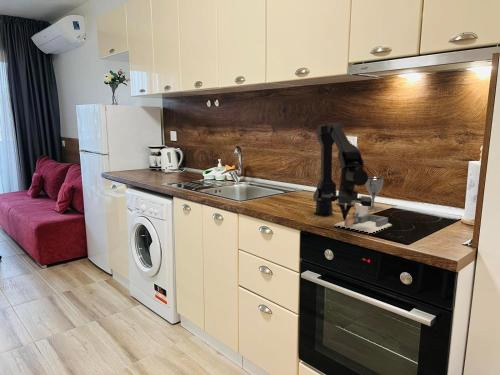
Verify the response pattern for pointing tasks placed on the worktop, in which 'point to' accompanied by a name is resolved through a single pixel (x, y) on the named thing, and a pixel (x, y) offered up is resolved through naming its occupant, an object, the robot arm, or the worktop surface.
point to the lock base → (368, 223)
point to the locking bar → (352, 219)
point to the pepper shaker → (361, 209)
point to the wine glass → (374, 189)
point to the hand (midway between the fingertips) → (344, 220)
